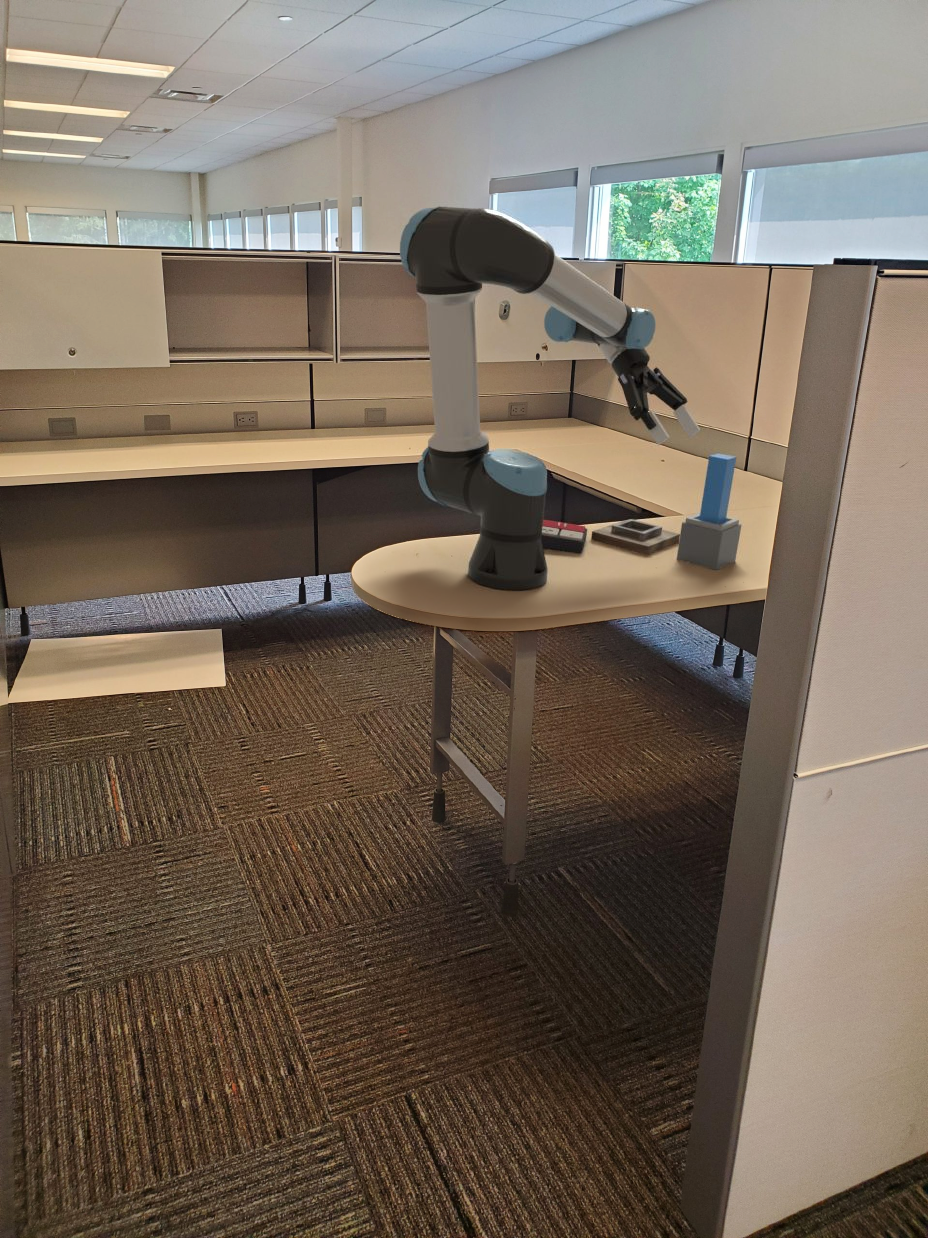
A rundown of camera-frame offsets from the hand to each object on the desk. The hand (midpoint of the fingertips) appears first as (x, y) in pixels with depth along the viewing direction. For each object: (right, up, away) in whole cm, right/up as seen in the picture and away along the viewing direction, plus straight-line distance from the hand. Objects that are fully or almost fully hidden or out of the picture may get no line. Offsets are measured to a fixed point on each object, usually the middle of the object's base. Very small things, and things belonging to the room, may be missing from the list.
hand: (679, 437), depth 193 cm
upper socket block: (+6, -25, +3) cm, 26 cm away
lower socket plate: (-7, -20, +13) cm, 25 cm away
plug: (+7, -18, 0) cm, 19 cm away
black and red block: (-26, -22, +9) cm, 35 cm away
